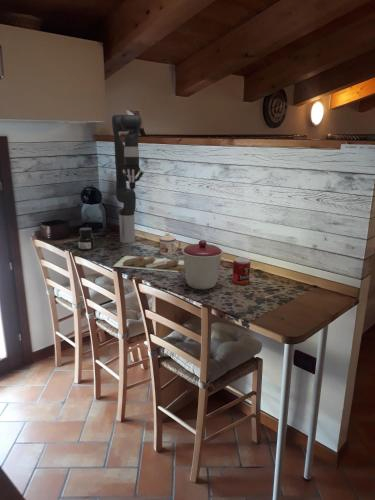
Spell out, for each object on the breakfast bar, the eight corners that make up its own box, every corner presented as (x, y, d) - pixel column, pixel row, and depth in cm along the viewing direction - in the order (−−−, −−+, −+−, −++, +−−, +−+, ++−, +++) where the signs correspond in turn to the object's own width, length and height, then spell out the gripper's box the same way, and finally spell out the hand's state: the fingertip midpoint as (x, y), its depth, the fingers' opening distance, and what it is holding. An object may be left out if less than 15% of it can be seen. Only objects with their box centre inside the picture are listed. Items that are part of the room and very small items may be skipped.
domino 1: (126, 259, 201) (143, 255, 199) (127, 263, 202) (144, 259, 199) (122, 262, 197) (140, 258, 194) (123, 266, 197) (141, 262, 194)
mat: (125, 256, 214) (125, 255, 214) (185, 261, 208) (185, 260, 208) (112, 266, 197) (112, 266, 197) (177, 272, 190) (177, 272, 190)
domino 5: (171, 263, 197) (190, 265, 195) (171, 267, 197) (190, 268, 195) (169, 266, 192) (188, 268, 190) (169, 270, 193) (188, 272, 191)
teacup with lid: (156, 253, 221) (156, 233, 218) (167, 250, 227) (167, 230, 224) (170, 257, 213) (170, 237, 210) (182, 254, 220) (182, 234, 216)
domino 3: (148, 261, 199) (166, 257, 196) (149, 265, 200) (167, 260, 197) (145, 264, 194) (164, 260, 192) (146, 268, 195) (165, 263, 192)
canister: (229, 285, 175) (231, 240, 170) (203, 296, 163) (205, 248, 157) (199, 275, 187) (200, 233, 181) (172, 285, 174) (173, 240, 169)
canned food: (238, 286, 175) (240, 263, 172) (228, 280, 182) (230, 258, 179) (252, 283, 179) (254, 260, 175) (242, 278, 185) (243, 256, 182)
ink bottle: (75, 249, 225) (73, 229, 221) (84, 245, 233) (83, 226, 229) (89, 251, 221) (87, 231, 218) (98, 247, 229) (97, 228, 226)
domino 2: (137, 260, 200) (154, 256, 198) (138, 264, 201) (155, 260, 198) (133, 263, 196) (151, 259, 193) (134, 267, 196) (152, 263, 193)
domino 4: (159, 262, 198) (177, 258, 195) (160, 266, 198) (178, 262, 196) (156, 265, 193) (175, 261, 191) (157, 269, 194) (176, 265, 191)
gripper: (116, 155, 198) (118, 189, 203) (141, 156, 195) (142, 190, 200) (122, 155, 205) (123, 187, 210) (146, 155, 202) (146, 189, 207)
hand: (132, 189), depth 205 cm, fingers closed
